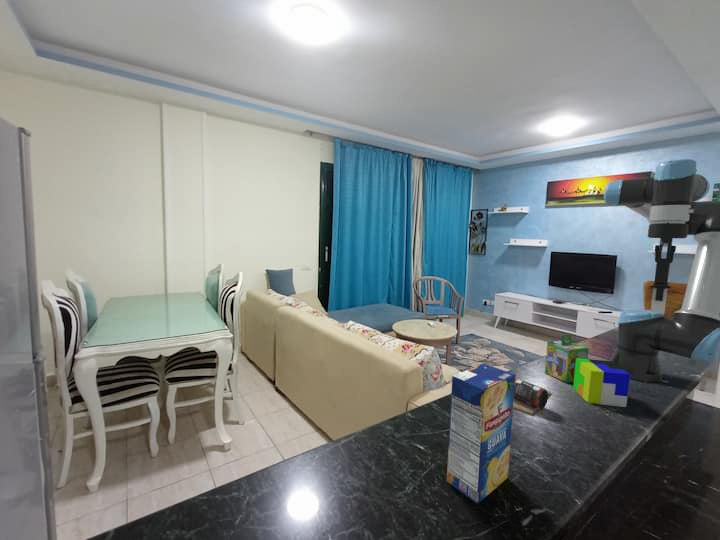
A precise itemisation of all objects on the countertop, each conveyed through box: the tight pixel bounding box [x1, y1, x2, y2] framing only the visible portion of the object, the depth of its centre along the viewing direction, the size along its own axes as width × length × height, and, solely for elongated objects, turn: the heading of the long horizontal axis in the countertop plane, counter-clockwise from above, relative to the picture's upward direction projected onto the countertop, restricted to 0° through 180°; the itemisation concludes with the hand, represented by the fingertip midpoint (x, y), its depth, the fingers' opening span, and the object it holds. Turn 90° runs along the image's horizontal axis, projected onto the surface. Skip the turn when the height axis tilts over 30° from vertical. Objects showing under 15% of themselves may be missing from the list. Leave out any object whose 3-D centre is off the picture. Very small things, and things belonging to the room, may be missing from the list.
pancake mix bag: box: [642, 280, 688, 318], centre depth 159 cm, size 7×19×28 cm, turn 31°
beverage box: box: [446, 363, 516, 505], centre depth 65 cm, size 7×11×22 cm, turn 128°
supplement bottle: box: [514, 377, 549, 411], centre depth 96 cm, size 6×6×11 cm
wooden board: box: [513, 389, 552, 416], centre depth 101 cm, size 18×12×1 cm, turn 136°
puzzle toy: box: [572, 358, 630, 408], centre depth 101 cm, size 10×10×10 cm
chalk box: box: [544, 333, 590, 384], centre depth 115 cm, size 9×9×15 cm
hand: (657, 312), depth 87 cm, fingers closed
